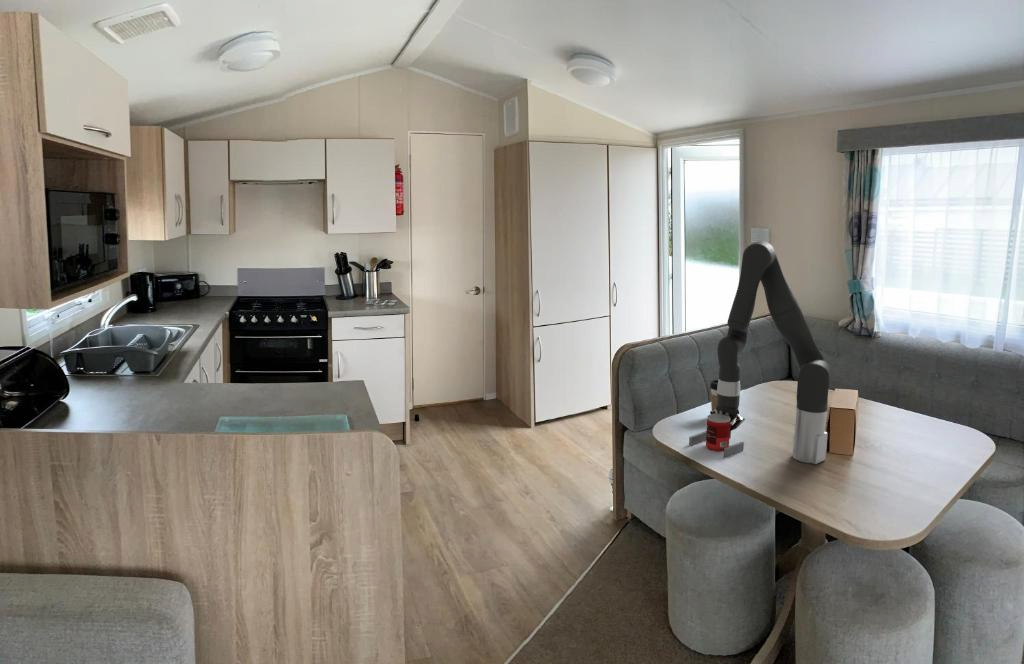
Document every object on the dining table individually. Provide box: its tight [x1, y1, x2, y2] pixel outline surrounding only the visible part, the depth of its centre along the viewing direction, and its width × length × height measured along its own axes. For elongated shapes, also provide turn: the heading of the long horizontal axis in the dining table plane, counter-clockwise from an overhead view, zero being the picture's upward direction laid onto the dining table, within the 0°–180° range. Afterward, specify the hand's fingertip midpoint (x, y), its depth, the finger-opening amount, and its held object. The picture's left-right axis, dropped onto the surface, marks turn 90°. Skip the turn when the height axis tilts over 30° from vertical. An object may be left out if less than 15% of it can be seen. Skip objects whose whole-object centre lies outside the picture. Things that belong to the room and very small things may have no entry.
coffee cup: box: [709, 379, 719, 411], centre depth 270 cm, size 8×8×15 cm
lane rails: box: [688, 430, 745, 459], centre depth 242 cm, size 15×10×3 cm, turn 40°
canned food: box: [705, 413, 731, 452], centre depth 241 cm, size 8×8×11 cm
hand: (725, 439), depth 246 cm, fingers closed
